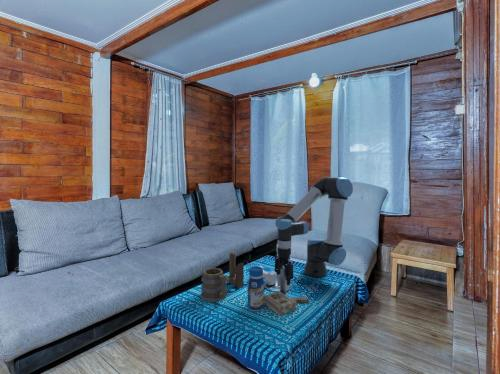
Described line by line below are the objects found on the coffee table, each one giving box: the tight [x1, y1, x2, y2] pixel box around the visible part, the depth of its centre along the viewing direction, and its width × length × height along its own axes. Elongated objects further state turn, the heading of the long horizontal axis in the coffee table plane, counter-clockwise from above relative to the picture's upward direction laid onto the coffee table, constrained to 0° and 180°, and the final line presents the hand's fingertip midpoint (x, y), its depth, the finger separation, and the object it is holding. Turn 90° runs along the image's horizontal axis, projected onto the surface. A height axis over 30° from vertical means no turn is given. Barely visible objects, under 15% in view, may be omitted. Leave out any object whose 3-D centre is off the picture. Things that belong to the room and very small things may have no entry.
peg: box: [279, 266, 288, 295], centre depth 153 cm, size 4×4×14 cm
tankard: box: [199, 267, 229, 303], centre depth 144 cm, size 20×13×15 cm, turn 40°
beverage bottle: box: [246, 266, 265, 312], centre depth 136 cm, size 8×8×20 cm
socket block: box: [264, 290, 298, 316], centre depth 139 cm, size 11×14×4 cm
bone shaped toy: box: [257, 265, 277, 286], centre depth 168 cm, size 15×9×8 cm, turn 41°
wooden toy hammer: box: [227, 252, 245, 288], centre depth 163 cm, size 4×11×18 cm, turn 42°
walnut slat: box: [290, 296, 310, 304], centre depth 143 cm, size 9×3×2 cm, turn 94°
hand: (283, 287), depth 153 cm, fingers open, 6 cm apart
